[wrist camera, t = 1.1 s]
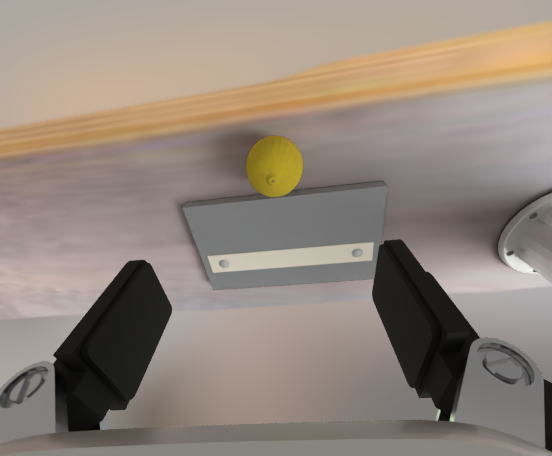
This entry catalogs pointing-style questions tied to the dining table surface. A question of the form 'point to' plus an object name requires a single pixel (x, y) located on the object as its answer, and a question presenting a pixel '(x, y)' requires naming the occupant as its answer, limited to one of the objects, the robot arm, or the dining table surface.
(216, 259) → the strip
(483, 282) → the dining table surface
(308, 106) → the dining table surface
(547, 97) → the dining table surface
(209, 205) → the panel
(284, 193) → the lemon
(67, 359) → the robot arm
